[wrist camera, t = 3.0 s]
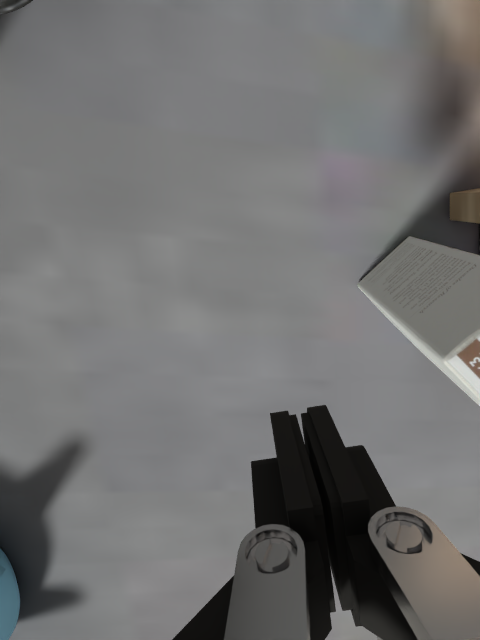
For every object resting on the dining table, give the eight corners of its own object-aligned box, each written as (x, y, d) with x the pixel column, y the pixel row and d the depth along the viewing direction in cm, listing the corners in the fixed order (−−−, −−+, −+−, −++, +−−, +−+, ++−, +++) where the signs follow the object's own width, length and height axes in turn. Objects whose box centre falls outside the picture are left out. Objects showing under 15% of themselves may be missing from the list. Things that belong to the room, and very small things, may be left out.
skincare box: (470, 300, 25) (672, 393, 13) (413, 350, 26) (554, 477, 14) (405, 230, 23) (565, 263, 12) (347, 285, 24) (444, 365, 13)
